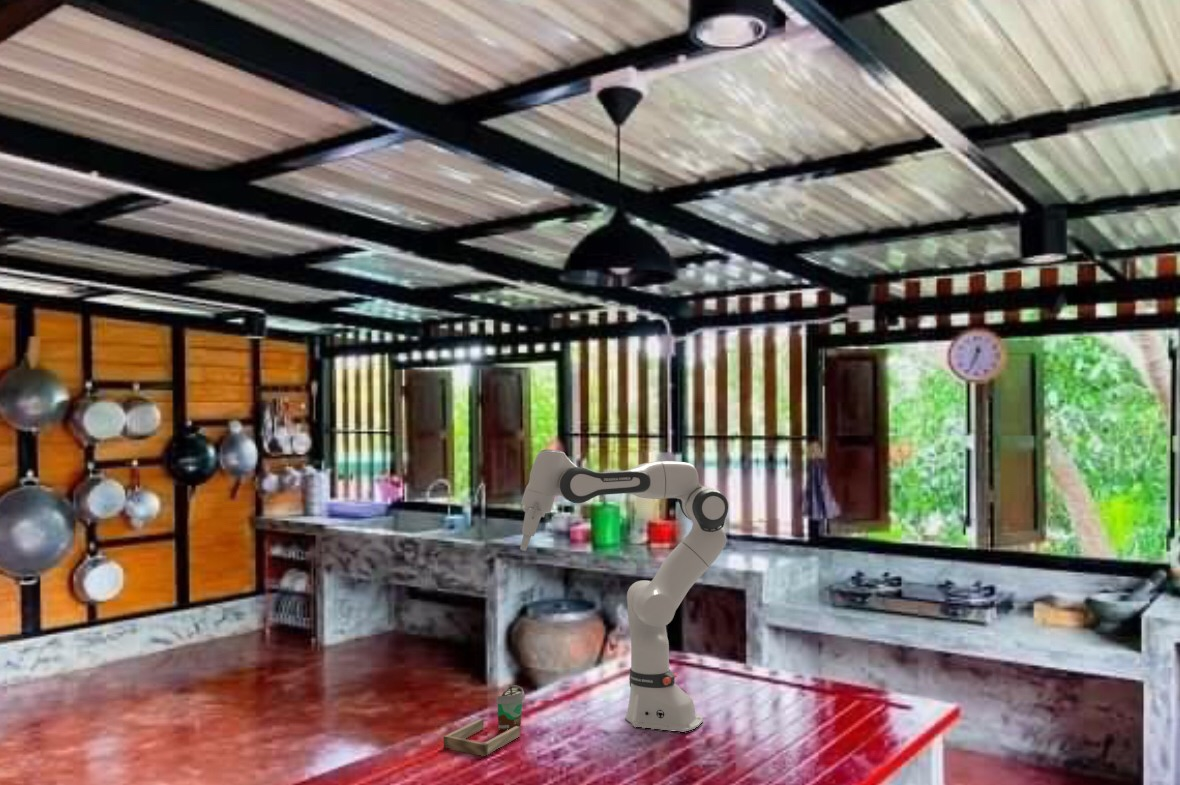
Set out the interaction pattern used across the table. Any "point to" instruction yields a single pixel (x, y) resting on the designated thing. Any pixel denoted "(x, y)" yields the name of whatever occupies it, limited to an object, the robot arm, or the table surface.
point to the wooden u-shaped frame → (462, 744)
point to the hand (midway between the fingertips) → (522, 549)
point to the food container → (510, 707)
